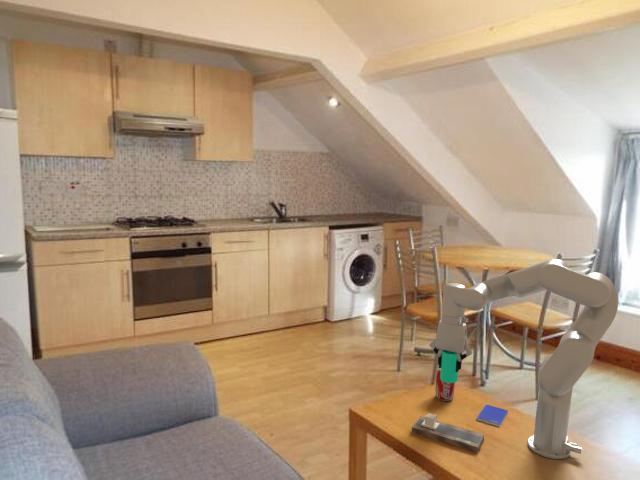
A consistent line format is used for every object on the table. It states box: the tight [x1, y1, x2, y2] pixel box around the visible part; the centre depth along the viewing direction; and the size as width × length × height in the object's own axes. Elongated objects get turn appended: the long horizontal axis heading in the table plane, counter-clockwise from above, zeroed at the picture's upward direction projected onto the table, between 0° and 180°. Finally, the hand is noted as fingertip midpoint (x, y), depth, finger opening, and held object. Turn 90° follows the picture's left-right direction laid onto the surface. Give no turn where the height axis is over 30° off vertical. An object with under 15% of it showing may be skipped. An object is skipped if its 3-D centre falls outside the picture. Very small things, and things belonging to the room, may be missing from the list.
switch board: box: [410, 416, 485, 454], centre depth 169 cm, size 22×9×2 cm, turn 60°
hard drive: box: [475, 403, 509, 428], centre depth 184 cm, size 2×8×12 cm
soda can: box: [434, 367, 456, 402], centre depth 196 cm, size 7×7×12 cm
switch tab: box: [421, 412, 439, 430], centre depth 172 cm, size 5×4×3 cm
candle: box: [440, 350, 459, 384], centre depth 177 cm, size 6×6×12 cm
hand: (449, 368), depth 178 cm, fingers closed on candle, 5 cm apart
